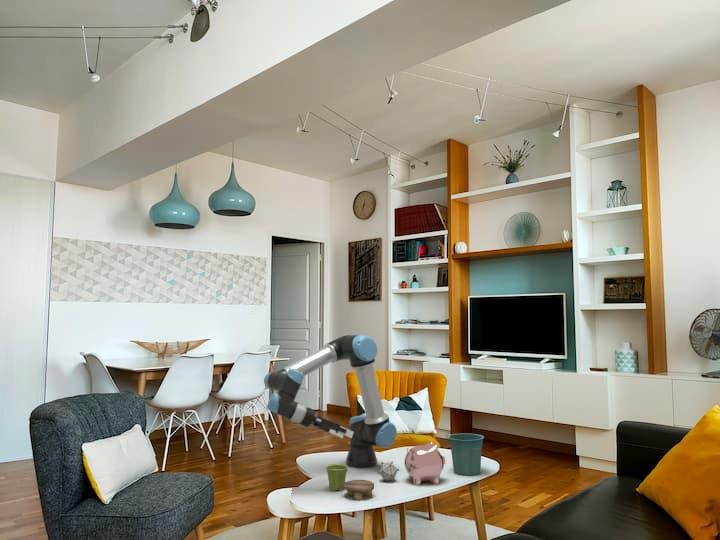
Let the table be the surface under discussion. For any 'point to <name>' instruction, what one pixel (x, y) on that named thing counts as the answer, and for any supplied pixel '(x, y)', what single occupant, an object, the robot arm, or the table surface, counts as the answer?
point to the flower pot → (466, 453)
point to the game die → (388, 471)
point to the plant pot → (336, 476)
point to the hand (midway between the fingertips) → (347, 435)
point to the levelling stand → (359, 488)
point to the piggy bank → (424, 463)
